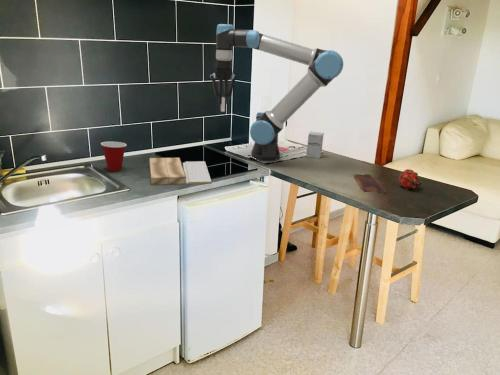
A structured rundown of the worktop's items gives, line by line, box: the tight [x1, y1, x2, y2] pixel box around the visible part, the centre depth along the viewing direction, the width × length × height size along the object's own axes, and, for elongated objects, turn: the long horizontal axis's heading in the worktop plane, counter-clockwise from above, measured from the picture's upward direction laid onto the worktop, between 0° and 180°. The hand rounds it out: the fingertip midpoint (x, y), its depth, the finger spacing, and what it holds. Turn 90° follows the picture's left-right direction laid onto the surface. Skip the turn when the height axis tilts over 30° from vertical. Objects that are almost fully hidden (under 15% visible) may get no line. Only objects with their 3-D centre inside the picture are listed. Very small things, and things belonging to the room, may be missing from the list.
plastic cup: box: [100, 141, 127, 172], centre depth 188 cm, size 11×11×12 cm
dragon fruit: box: [398, 168, 422, 190], centre depth 184 cm, size 8×8×12 cm
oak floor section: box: [149, 157, 187, 186], centre depth 187 cm, size 14×30×3 cm, turn 14°
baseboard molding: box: [182, 158, 212, 185], centre depth 191 cm, size 31×3×12 cm
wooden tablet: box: [353, 173, 387, 194], centre depth 188 cm, size 26×2×10 cm
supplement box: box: [306, 131, 325, 159], centre depth 227 cm, size 7×7×13 cm
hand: (222, 111), depth 205 cm, fingers closed
